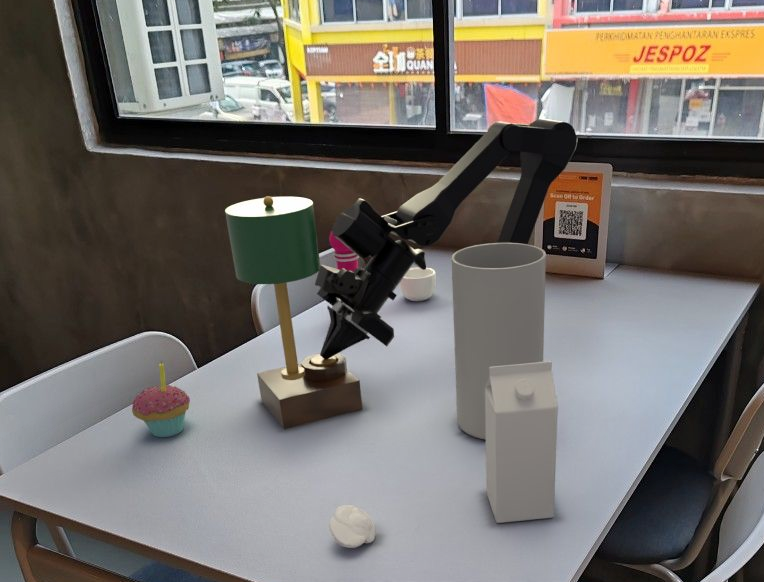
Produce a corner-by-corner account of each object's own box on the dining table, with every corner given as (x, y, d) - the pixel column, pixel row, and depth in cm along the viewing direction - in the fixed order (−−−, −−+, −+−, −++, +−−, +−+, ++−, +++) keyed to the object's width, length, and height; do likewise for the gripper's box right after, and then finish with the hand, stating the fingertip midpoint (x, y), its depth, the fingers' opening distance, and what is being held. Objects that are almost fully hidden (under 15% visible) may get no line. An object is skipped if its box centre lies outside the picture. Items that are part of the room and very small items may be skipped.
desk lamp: (317, 354, 132) (295, 183, 119) (344, 380, 123) (324, 196, 109) (244, 371, 128) (213, 195, 115) (267, 398, 119) (236, 210, 105)
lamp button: (332, 364, 133) (330, 352, 132) (341, 372, 130) (339, 360, 129) (308, 369, 132) (307, 357, 131) (317, 378, 129) (315, 366, 128)
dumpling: (342, 526, 102) (347, 497, 101) (380, 539, 101) (386, 511, 99) (317, 548, 96) (321, 518, 94) (357, 563, 95) (362, 533, 93)
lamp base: (335, 383, 139) (330, 344, 136) (362, 409, 130) (358, 368, 126) (261, 401, 135) (254, 361, 131) (284, 429, 126) (277, 387, 122)
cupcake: (205, 421, 130) (190, 349, 124) (175, 446, 123) (158, 371, 117) (159, 416, 133) (141, 346, 126) (127, 440, 126) (108, 367, 120)
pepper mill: (365, 324, 164) (356, 221, 153) (330, 323, 165) (319, 221, 155) (374, 312, 170) (365, 212, 159) (340, 311, 171) (329, 212, 161)
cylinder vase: (531, 447, 116) (534, 270, 103) (446, 437, 120) (439, 267, 107) (549, 409, 126) (554, 244, 113) (470, 401, 130) (466, 241, 117)
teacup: (427, 305, 171) (426, 279, 168) (394, 302, 174) (392, 277, 171) (445, 290, 179) (444, 265, 176) (413, 288, 182) (412, 263, 179)
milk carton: (486, 494, 106) (484, 355, 96) (540, 488, 106) (544, 350, 96) (496, 524, 100) (495, 379, 90) (554, 518, 100) (559, 373, 90)
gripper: (322, 232, 130) (265, 313, 132) (368, 258, 115) (303, 349, 117) (372, 272, 137) (317, 349, 139) (421, 302, 122) (359, 387, 124)
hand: (322, 357), depth 130 cm, fingers closed, pressing on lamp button
